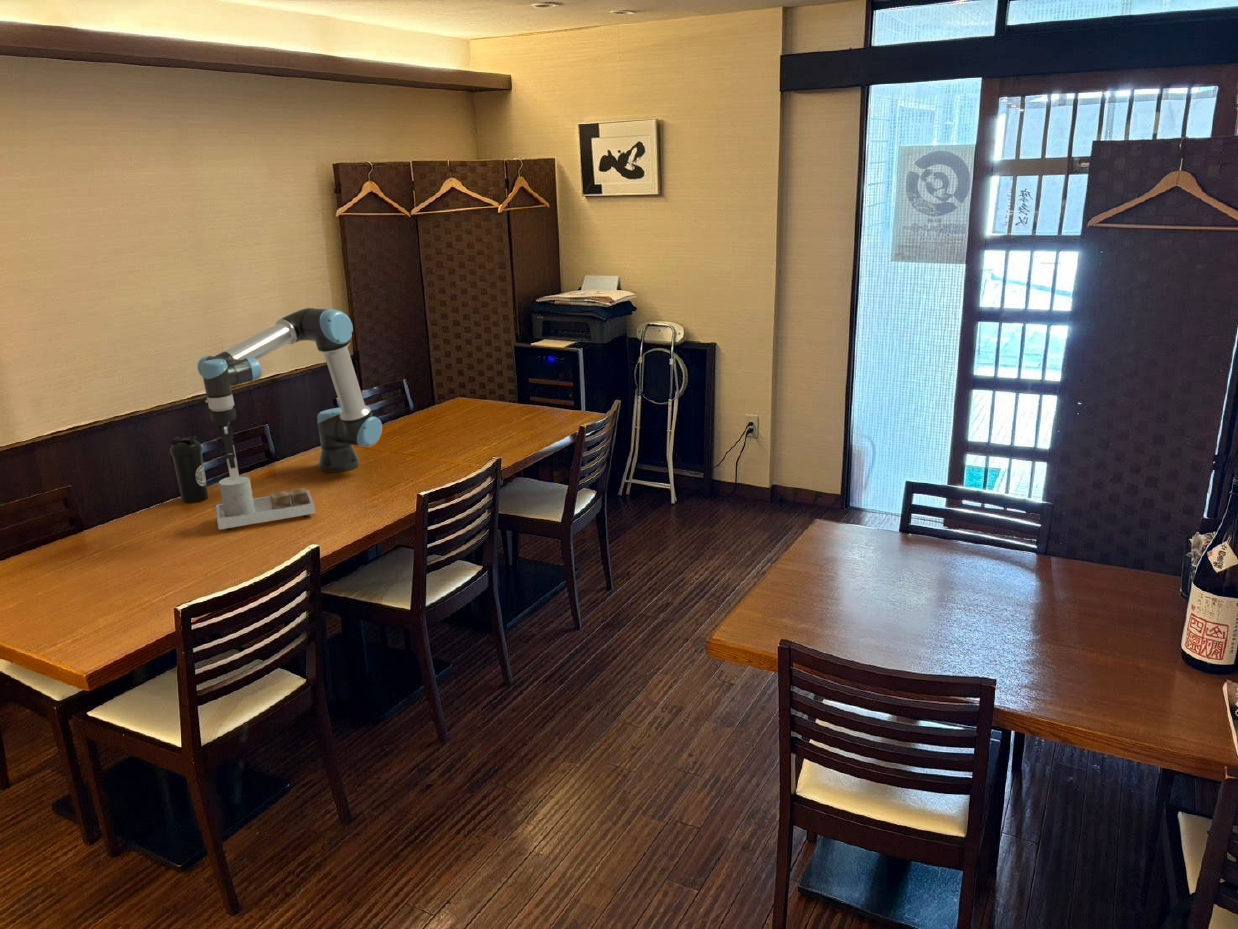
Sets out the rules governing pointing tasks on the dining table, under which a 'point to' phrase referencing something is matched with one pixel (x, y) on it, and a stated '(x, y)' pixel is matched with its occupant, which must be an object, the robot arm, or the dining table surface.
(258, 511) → the tray
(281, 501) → the walnut block
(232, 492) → the grey cylinder
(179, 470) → the water bottle
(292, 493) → the walnut block
